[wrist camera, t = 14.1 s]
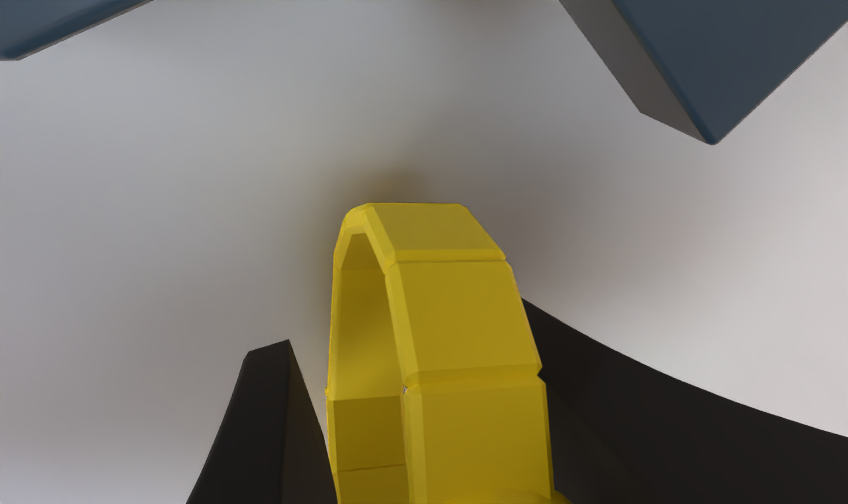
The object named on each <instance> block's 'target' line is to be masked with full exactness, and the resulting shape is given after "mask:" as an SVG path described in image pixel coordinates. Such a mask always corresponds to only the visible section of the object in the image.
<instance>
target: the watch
mask: <svg viewBox="0 0 848 504" xmlns="http://www.w3.org/2000/svg"><path fill="white" fill-rule="evenodd" d="M333 260H334V263H333V283H332V303H331V323H330V343H329V363H328V383H327V387H325V395H327V400H326V413H327V432H328V451H329V462H330V466H331V471H332V474H333V480H334V484H335V489H336V493H337V500H338V504H573V503H571V502H570V501H569V500H568V499H567V498H566V497H565V496H564V495H563V494H561V493H560V492H558V491H555V490H554V479H553V467H552V455H551V443H550V431H549V419H548V407H547V394H546V384H545V383H544V382H543V381H542V380H541V379H540V378H539V377H538V376H537V374H538V373H539V371H540V369H541V368H542V364H541V361H540V357H539V354H538V351H537V348H536V345H535V341H534V338H533V335H532V332H531V328H530V325H529V322H528V319H527V316H526V312H525V309H524V306H523V303H522V300H521V296H520V293H519V290H518V287H517V284H516V280H515V277H514V274H513V271H512V267H511V266H510V265H509V264H508V263H507V262H506V261H505V260H506V255H505V254H504V253H503V252H502V250H501V249H500V248H499V247H498V246H497V244H496V243H495V242H494V241H493V239H492V238H491V237H490V236H489V234H488V233H487V232H486V231H485V230H484V228H483V227H482V226H481V225H480V223H479V222H478V221H477V220H476V218H475V217H474V216H473V215H472V213H471V212H470V211H469V210H468V209H467V208H466V206H462V205H461V204H460V203H373V202H369V203H366V204H363V205H361V206H358V207H355V208H352V209H351V210H350V211H349V212H348V213H347V214H346V217H345V218H344V219H343V222H342V226H341V230H340V233H339V237H338V240H337V244H336V247H335V251H334V254H333ZM404 386H405V387H407V388H408V389H407V390H406V392H405V393H404V394H403V389H404Z"/></svg>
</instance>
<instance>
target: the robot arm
mask: <svg viewBox="0 0 848 504" xmlns="http://www.w3.org/2000/svg"><path fill="white" fill-rule="evenodd" d="M521 300H522V303H523V306H524V309H525V312H526V316H527V319H528V322H529V325H530V328H531V332H532V335H533V338H534V341H535V345H536V348H537V351H538V354H539V357H540V361H541V364H542V368H541V369H540V371H539V373H538V374H537V376H538V377H539V378H540V379H541V380H542V381H543V382H544V383H545V384H546V394H547V407H548V419H549V431H550V443H551V455H552V467H553V479H554V490H555V491H558V492H560V493H561V494H563V495H564V496H565V497H566V498H567V499H568V500H569V501H570V502H571V503H573V504H848V437H845V436H841V435H838V434H834V433H831V432H827V431H824V430H820V429H817V428H814V427H811V426H808V425H804V424H801V423H798V422H795V421H792V420H789V419H785V418H782V417H779V416H776V415H773V414H770V413H766V412H763V411H760V410H757V409H755V408H752V407H749V406H746V405H743V404H740V403H737V402H735V401H732V400H729V399H726V398H724V397H721V396H719V395H716V394H714V393H711V392H709V391H706V390H703V389H701V388H698V387H696V386H693V385H691V384H688V383H686V382H683V381H681V380H678V379H676V378H673V377H671V376H669V375H666V374H664V373H662V372H660V371H657V370H655V369H653V368H651V367H649V366H647V365H644V364H642V363H640V362H638V361H636V360H634V359H632V358H630V357H628V356H626V355H623V354H621V353H619V352H617V351H615V350H613V349H611V348H609V347H607V346H605V345H603V344H601V343H600V342H598V341H596V340H594V339H592V338H590V337H588V336H587V335H585V334H583V333H581V332H579V331H578V330H576V329H574V328H572V327H570V326H568V325H567V324H565V323H563V322H561V321H560V320H558V319H556V318H555V317H553V316H551V315H549V314H548V313H546V312H544V311H543V310H541V309H539V308H538V307H536V306H534V305H533V304H531V303H529V302H528V301H526V300H525V299H523V298H521ZM186 504H338V500H337V493H336V489H335V484H334V480H333V475H332V471H331V466H330V462H329V458H328V453H327V449H326V445H325V440H324V436H323V433H322V430H321V427H320V425H319V422H318V419H317V416H316V413H315V411H314V408H313V405H312V402H311V399H310V397H309V394H308V391H307V388H306V385H305V383H304V380H303V377H302V374H301V371H300V369H299V366H298V363H297V360H296V357H295V355H294V352H293V349H292V346H291V343H290V341H289V339H288V340H285V341H282V342H278V343H275V344H272V345H268V346H265V347H262V348H259V349H255V350H252V351H249V352H248V354H247V355H246V357H245V358H244V360H243V363H242V366H241V370H240V373H239V376H238V379H237V382H236V385H235V388H234V391H233V394H232V397H231V399H230V402H229V405H228V407H227V410H226V413H225V415H224V418H223V421H222V423H221V426H220V428H219V431H218V433H217V435H216V438H215V440H214V443H213V445H212V447H211V450H210V452H209V455H208V457H207V460H206V462H205V464H204V467H203V469H202V471H201V473H200V475H199V478H198V480H197V482H196V484H195V486H194V488H193V490H192V492H191V494H190V496H189V498H188V500H187V502H186Z"/></svg>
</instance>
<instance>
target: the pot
mask: <svg viewBox="0 0 848 504" xmlns="http://www.w3.org/2000/svg"><path fill="white" fill-rule="evenodd" d="M151 1H153V0H0V61H19V60H21V59H23V58H26V57H28V56H30V55H32V54H35V53H37V52H39V51H41V50H43V49H46V48H48V47H50V46H52V45H55V44H57V43H59V42H61V41H64V40H66V39H68V38H70V37H73V36H75V35H77V34H79V33H82V32H84V31H86V30H88V29H91V28H93V27H95V26H97V25H99V24H102V23H104V22H106V21H108V20H111V19H113V18H115V17H117V16H120V15H122V14H124V13H126V12H129V11H131V10H133V9H135V8H138V7H140V6H142V5H144V4H147V3H149V2H151ZM559 1H560V3H561V4H562V5H563V7H564V8H565V9H566V11H567V12H568V14H569V15H570V16H571V18H572V19H573V20H574V22H575V23H576V25H577V26H578V27H579V29H580V30H581V32H582V33H583V34H584V36H585V37H586V38H587V40H588V41H589V43H590V44H591V45H592V47H593V48H594V49H595V51H596V52H597V54H598V55H599V56H600V58H601V59H602V60H603V62H604V63H605V65H606V66H607V67H608V69H609V70H610V71H611V73H612V74H613V76H614V77H615V78H616V80H617V81H618V82H619V84H620V85H621V87H622V88H623V89H624V91H625V92H626V93H627V95H628V96H629V98H630V99H631V100H632V102H633V103H634V104H635V106H636V107H637V109H638V110H639V111H640V113H643V114H645V115H647V116H649V117H651V118H653V119H655V120H658V121H660V122H662V123H664V124H666V125H668V126H670V127H672V128H675V129H677V130H679V131H681V132H683V133H685V134H687V135H690V136H692V137H694V138H696V139H698V140H700V141H702V142H704V143H707V144H709V145H715V144H717V143H719V142H720V141H721V140H722V139H723V138H724V137H725V136H726V135H727V134H729V133H730V132H731V131H732V130H733V129H734V128H735V127H736V126H737V125H738V124H739V123H740V122H741V121H742V120H743V119H744V118H746V117H747V116H748V115H749V114H750V113H751V112H752V111H753V110H754V109H755V108H756V107H757V106H758V105H759V104H760V103H762V102H763V101H764V100H765V99H766V98H767V97H768V96H769V95H770V94H771V93H772V92H773V91H774V90H775V89H776V88H777V87H779V86H780V85H781V84H782V83H783V82H784V81H785V80H786V79H787V78H788V77H789V76H790V75H791V74H792V73H793V72H794V71H796V70H797V69H798V68H799V67H800V66H801V65H802V64H803V63H804V62H805V61H806V60H807V59H808V58H809V57H810V56H811V55H813V54H814V53H815V52H816V51H817V50H818V49H819V48H820V47H821V46H822V45H823V44H824V43H825V42H826V41H827V40H828V39H830V38H831V37H832V36H833V35H834V34H835V33H836V32H837V31H838V30H839V29H840V28H841V27H842V26H843V25H844V24H845V23H847V22H848V0H559Z"/></svg>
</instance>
